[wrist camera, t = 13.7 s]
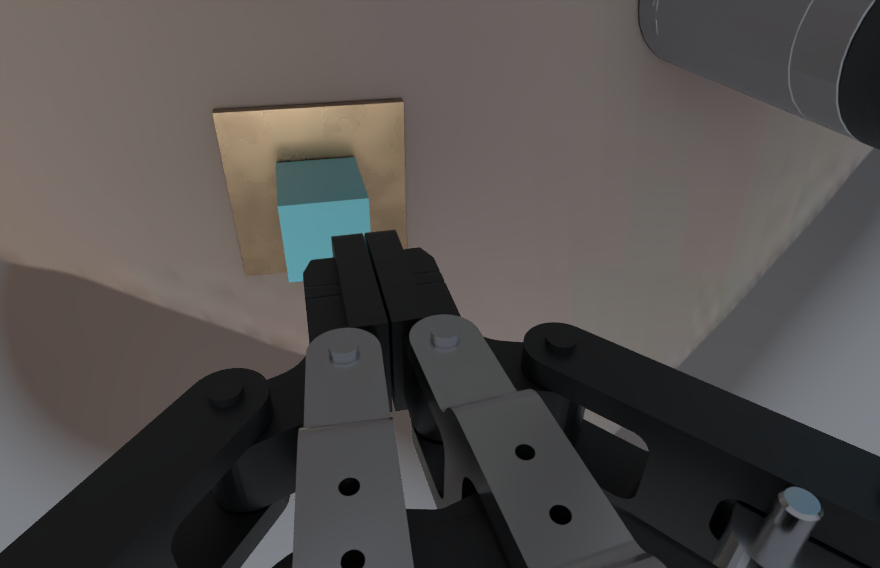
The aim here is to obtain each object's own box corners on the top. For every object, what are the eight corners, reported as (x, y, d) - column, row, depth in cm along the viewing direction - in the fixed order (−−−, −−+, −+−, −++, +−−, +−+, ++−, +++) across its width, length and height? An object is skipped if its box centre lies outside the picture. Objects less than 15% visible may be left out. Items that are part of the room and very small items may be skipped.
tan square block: (401, 98, 39) (424, 133, 33) (404, 252, 46) (424, 303, 40) (213, 109, 36) (204, 148, 31) (246, 270, 43) (243, 327, 37)
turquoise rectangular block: (354, 157, 39) (368, 198, 34) (359, 225, 42) (372, 272, 37) (275, 162, 38) (277, 206, 33) (286, 232, 41) (289, 282, 36)
